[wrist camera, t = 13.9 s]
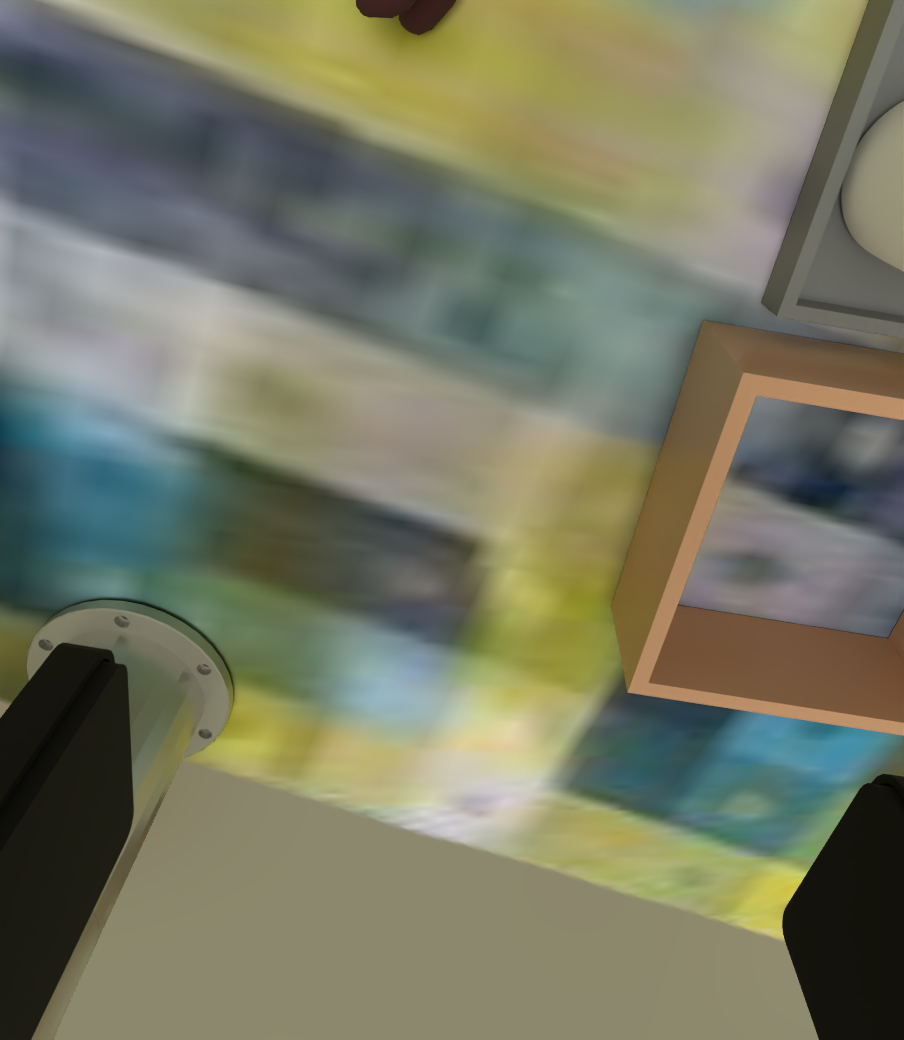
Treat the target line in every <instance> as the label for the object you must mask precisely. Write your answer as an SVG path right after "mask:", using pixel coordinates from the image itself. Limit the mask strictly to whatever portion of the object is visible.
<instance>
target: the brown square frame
mask: <svg viewBox="0 0 904 1040" xmlns="http://www.w3.org/2000/svg"><path fill="white" fill-rule="evenodd" d="M756 396H762V397H768V398H774V399H780V400H786V401H792V402H798V403H804V404H810V405H816V406H822V407H828V408H834V409H840V410H846V411H852V412H858V413H864V414H870V415H876V416H882V417H888V418H894V419H900V420H904V354H901V353H895V352H889V351H883V350H877V349H871V348H866V347H860V346H854V345H848V344H842V343H836V342H830V341H824V340H818V339H812V338H806V337H801V336H795V335H789V334H783V333H777V332H771V331H765V330H759V329H753V328H747V327H741V326H736V325H730V324H724V323H718V322H712V321H706V320H703V322H702V325H701V328H700V331H699V335H698V338H697V341H696V344H695V347H694V350H693V353H692V356H691V359H690V363H689V366H688V369H687V372H686V375H685V378H684V381H683V384H682V387H681V390H680V394H679V397H678V400H677V403H676V406H675V409H674V412H673V415H672V418H671V422H670V425H669V428H668V431H667V434H666V437H665V440H664V443H663V446H662V449H661V453H660V456H659V459H658V462H657V465H656V468H655V471H654V474H653V477H652V481H651V484H650V487H649V490H648V493H647V496H646V499H645V502H644V505H643V508H642V512H641V515H640V518H639V521H638V524H637V527H636V530H635V533H634V536H633V540H632V543H631V546H630V549H629V552H628V555H627V558H626V561H625V564H624V567H623V571H622V574H621V577H620V580H619V583H618V586H617V589H616V592H615V595H614V599H613V602H612V605H611V609H612V614H613V619H614V624H615V629H616V634H617V640H618V645H619V650H620V655H621V660H622V665H623V671H624V676H625V681H626V686H627V691H628V693H635V694H641V695H648V696H654V697H660V698H667V699H673V700H680V701H686V702H692V703H699V704H705V705H712V706H718V707H724V708H731V709H737V710H743V711H750V712H756V713H763V714H769V715H775V716H782V717H788V718H795V719H801V720H807V721H814V722H820V723H827V724H833V725H839V726H846V727H852V728H859V729H865V730H871V731H878V732H884V733H891V734H897V735H903V736H904V611H903V613H902V615H901V616H900V618H899V620H898V622H897V624H896V625H895V627H894V629H893V631H892V632H891V634H890V636H889V638H881V637H875V636H869V635H863V634H856V633H850V632H844V631H837V630H831V629H825V628H819V627H812V626H806V625H800V624H794V623H787V622H781V621H775V620H768V619H762V618H756V617H750V616H743V615H737V614H731V613H725V612H718V611H712V610H706V609H700V608H693V607H687V606H681V605H678V603H679V600H680V597H681V595H682V592H683V589H684V587H685V584H686V581H687V579H688V576H689V574H690V571H691V568H692V566H693V563H694V560H695V558H696V555H697V552H698V550H699V547H700V544H701V542H702V539H703V536H704V534H705V531H706V528H707V526H708V523H709V521H710V518H711V515H712V513H713V510H714V507H715V505H716V502H717V499H718V497H719V494H720V491H721V489H722V486H723V483H724V481H725V478H726V475H727V473H728V470H729V467H730V465H731V462H732V460H733V457H734V454H735V452H736V449H737V446H738V444H739V441H740V438H741V436H742V433H743V430H744V428H745V425H746V422H747V420H748V417H749V414H750V412H751V409H752V406H753V404H754V401H755V399H756Z"/></svg>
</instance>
